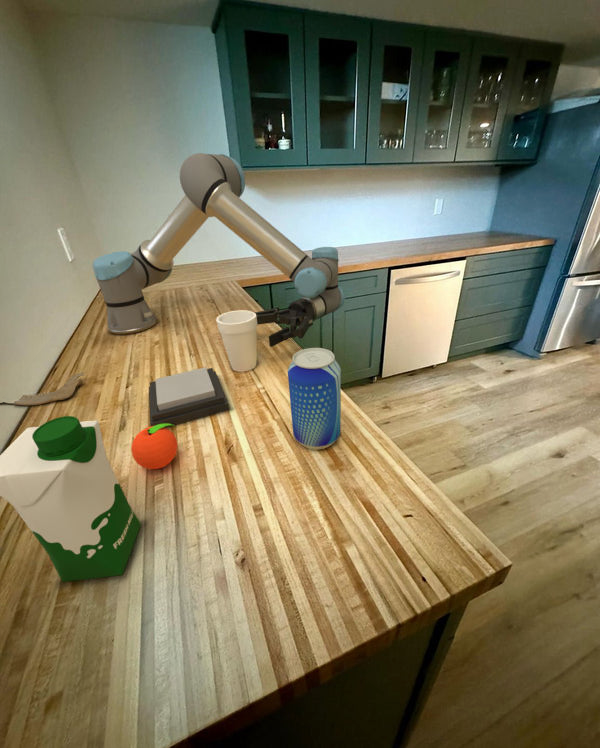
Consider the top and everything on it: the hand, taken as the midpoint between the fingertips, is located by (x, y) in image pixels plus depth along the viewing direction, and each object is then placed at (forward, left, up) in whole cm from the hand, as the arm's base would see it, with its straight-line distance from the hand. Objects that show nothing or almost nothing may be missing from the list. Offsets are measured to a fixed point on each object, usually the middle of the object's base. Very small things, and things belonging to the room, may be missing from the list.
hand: (251, 335), depth 84 cm
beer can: (+35, +2, -7) cm, 35 cm away
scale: (+12, -18, -7) cm, 23 cm away
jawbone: (-9, -50, -7) cm, 51 cm away
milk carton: (+43, -32, -7) cm, 54 cm away
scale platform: (+12, -18, -5) cm, 22 cm away
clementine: (+29, -24, -7) cm, 38 cm away
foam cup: (+2, -3, -7) cm, 8 cm away
